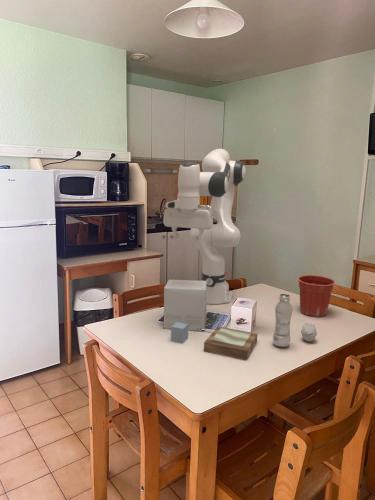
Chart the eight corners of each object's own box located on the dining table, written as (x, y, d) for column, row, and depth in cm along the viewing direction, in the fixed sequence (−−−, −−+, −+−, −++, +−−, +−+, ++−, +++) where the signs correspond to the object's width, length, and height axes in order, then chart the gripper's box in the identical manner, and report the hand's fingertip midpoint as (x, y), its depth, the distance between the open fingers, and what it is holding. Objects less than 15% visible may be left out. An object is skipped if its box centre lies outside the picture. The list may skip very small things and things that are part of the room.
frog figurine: (316, 338, 151) (318, 322, 149) (315, 345, 144) (317, 328, 143) (301, 335, 153) (302, 319, 152) (299, 342, 147) (300, 325, 145)
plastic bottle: (268, 344, 144) (271, 294, 140) (279, 340, 149) (283, 291, 145) (282, 351, 139) (286, 299, 135) (293, 346, 144) (297, 295, 140)
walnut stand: (217, 334, 153) (218, 325, 152) (257, 342, 147) (257, 332, 146) (203, 351, 138) (204, 340, 137) (246, 360, 132) (247, 349, 131)
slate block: (176, 336, 151) (176, 322, 149) (187, 338, 149) (188, 324, 147) (170, 341, 146) (171, 326, 145) (182, 343, 144) (183, 328, 143)
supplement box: (206, 319, 168) (207, 280, 164) (204, 331, 155) (205, 289, 151) (167, 317, 170) (168, 278, 166) (163, 329, 157) (163, 287, 153)
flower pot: (327, 322, 168) (331, 287, 165) (290, 314, 176) (293, 281, 173) (334, 311, 182) (338, 278, 178) (300, 304, 190) (303, 273, 187)
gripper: (216, 205, 148) (214, 240, 150) (168, 202, 155) (168, 236, 158) (210, 206, 142) (209, 242, 144) (161, 203, 150) (161, 237, 152)
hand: (187, 239), depth 151 cm, fingers open, 8 cm apart
